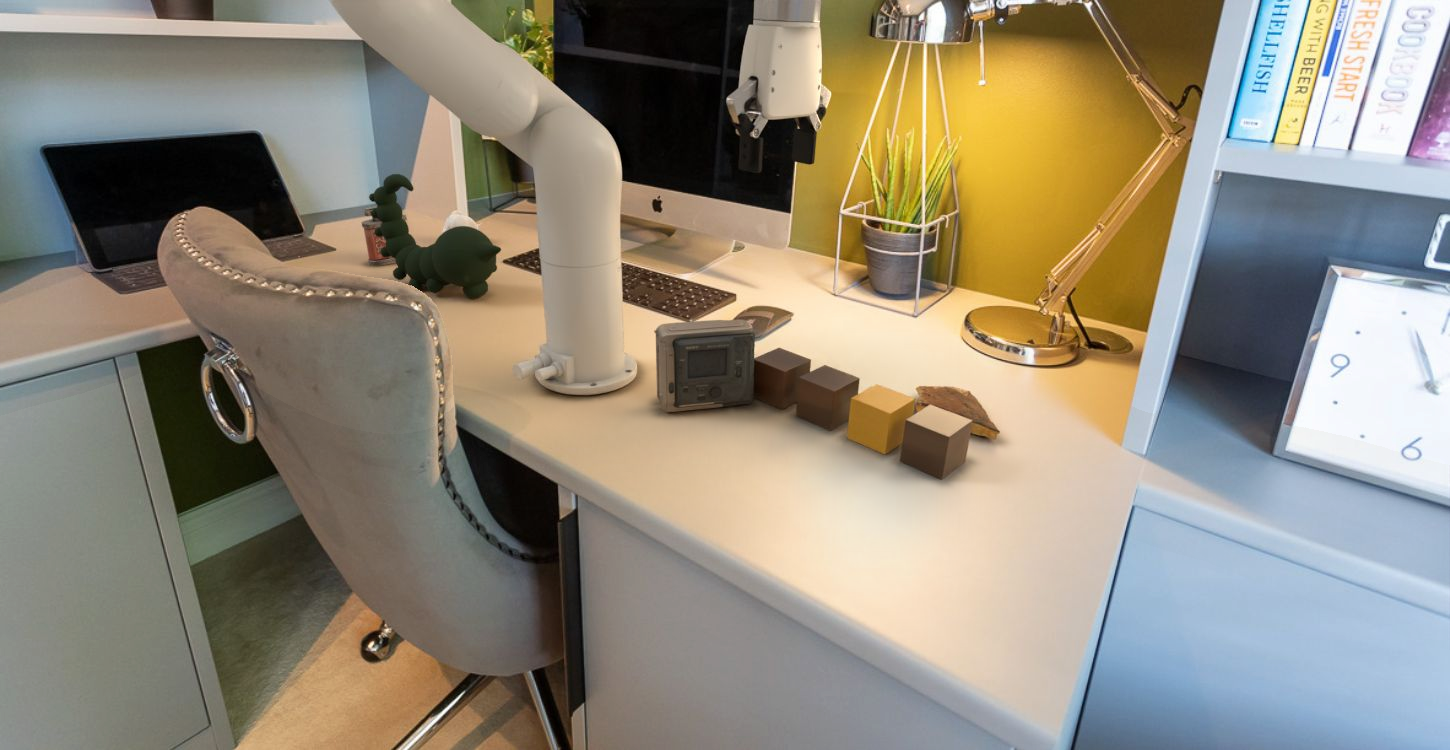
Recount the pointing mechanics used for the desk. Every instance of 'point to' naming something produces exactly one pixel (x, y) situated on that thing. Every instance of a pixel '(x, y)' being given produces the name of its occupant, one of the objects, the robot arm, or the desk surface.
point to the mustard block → (879, 418)
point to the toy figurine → (433, 248)
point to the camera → (704, 364)
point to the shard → (958, 407)
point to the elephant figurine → (459, 221)
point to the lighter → (375, 240)
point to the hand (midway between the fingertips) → (777, 166)
